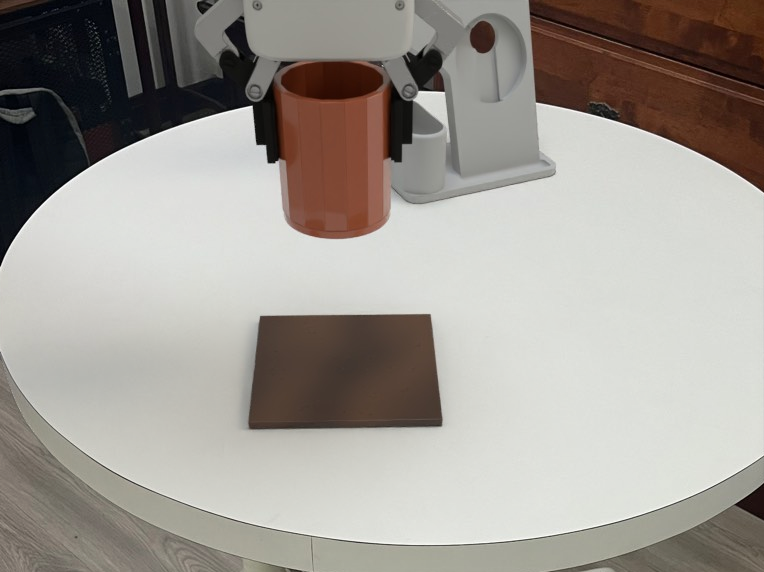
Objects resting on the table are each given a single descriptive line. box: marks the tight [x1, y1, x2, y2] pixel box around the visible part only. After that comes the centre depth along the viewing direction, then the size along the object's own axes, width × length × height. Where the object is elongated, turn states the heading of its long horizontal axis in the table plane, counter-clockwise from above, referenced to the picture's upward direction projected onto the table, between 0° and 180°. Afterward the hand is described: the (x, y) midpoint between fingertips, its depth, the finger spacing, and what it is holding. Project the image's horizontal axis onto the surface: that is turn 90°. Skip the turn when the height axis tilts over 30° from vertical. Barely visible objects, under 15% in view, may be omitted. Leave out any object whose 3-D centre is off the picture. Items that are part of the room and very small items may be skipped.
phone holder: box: [391, 0, 557, 204], centre depth 96 cm, size 17×10×18 cm, turn 116°
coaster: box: [247, 313, 444, 429], centre depth 77 cm, size 14×14×1 cm
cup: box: [272, 61, 392, 240], centre depth 66 cm, size 7×7×9 cm
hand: (334, 152), depth 66 cm, fingers closed on cup, 7 cm apart
